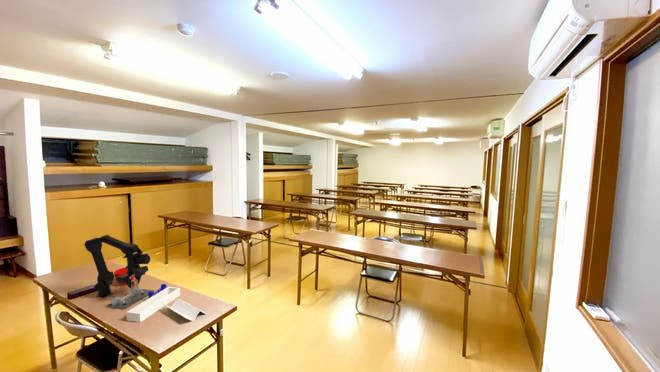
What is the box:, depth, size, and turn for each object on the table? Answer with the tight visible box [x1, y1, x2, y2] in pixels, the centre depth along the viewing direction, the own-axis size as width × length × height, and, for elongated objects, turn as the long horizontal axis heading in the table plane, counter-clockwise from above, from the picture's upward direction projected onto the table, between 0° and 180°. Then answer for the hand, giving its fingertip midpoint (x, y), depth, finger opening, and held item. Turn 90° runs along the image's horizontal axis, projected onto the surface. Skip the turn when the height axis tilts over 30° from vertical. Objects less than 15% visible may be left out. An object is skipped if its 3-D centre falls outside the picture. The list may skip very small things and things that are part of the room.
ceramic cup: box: [113, 266, 135, 286], centre depth 200 cm, size 13×17×10 cm
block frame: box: [125, 286, 181, 323], centre depth 168 cm, size 9×31×5 cm, turn 169°
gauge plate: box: [107, 287, 155, 311], centre depth 176 cm, size 12×22×5 cm, turn 169°
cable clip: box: [147, 283, 168, 299], centre depth 181 cm, size 12×4×6 cm, turn 170°
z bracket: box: [163, 297, 207, 322], centre depth 163 cm, size 12×25×6 cm
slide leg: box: [129, 278, 144, 294], centre depth 181 cm, size 8×3×9 cm, turn 79°
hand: (134, 286), depth 181 cm, fingers open, 5 cm apart
